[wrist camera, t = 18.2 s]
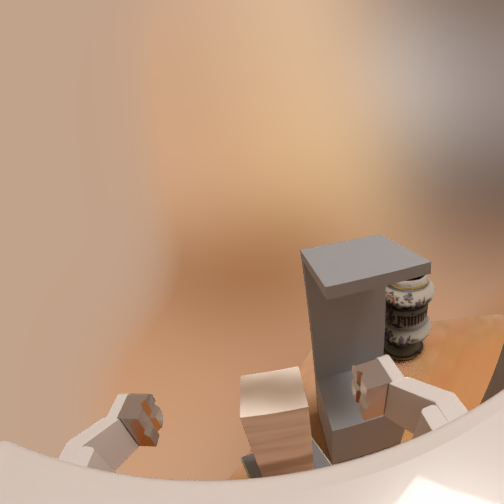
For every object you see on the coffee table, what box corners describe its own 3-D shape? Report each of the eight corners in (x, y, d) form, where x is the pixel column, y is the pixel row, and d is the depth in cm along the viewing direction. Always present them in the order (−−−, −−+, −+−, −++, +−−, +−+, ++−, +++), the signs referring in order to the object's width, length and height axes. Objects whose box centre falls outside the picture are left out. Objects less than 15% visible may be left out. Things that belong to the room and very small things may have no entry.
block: (315, 483, 22) (308, 406, 18) (268, 490, 22) (239, 417, 18) (308, 450, 26) (298, 366, 23) (266, 457, 27) (240, 376, 23)
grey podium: (400, 443, 31) (431, 261, 23) (331, 464, 31) (325, 287, 23) (376, 395, 43) (380, 234, 35) (317, 411, 43) (300, 249, 35)
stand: (340, 506, 24) (344, 479, 21) (276, 533, 22) (264, 513, 19) (311, 465, 32) (308, 430, 30) (254, 487, 30) (239, 456, 27)
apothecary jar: (407, 372, 46) (416, 290, 41) (365, 350, 56) (364, 275, 51) (437, 342, 50) (445, 267, 46) (397, 326, 61) (399, 256, 56)
